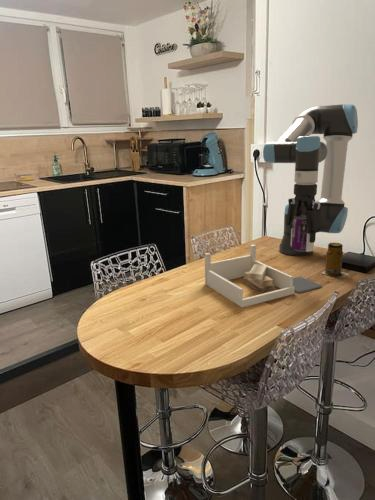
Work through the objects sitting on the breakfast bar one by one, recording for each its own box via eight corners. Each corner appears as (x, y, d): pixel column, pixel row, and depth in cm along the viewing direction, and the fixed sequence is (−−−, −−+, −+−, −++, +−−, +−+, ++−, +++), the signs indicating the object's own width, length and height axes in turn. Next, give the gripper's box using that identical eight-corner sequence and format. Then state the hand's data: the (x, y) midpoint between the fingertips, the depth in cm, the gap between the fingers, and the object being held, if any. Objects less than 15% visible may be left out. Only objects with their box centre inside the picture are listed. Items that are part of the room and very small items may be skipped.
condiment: (330, 269, 156) (332, 240, 153) (349, 274, 150) (352, 245, 146) (319, 273, 152) (322, 244, 148) (339, 279, 145) (342, 248, 142)
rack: (252, 273, 154) (253, 244, 150) (294, 293, 133) (296, 261, 130) (205, 283, 144) (204, 253, 141) (241, 307, 124) (242, 272, 120)
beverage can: (307, 253, 132) (309, 219, 128) (288, 250, 136) (289, 217, 132) (314, 248, 137) (317, 215, 134) (295, 246, 141) (297, 213, 138)
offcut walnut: (253, 281, 147) (253, 275, 147) (274, 291, 137) (274, 285, 136) (242, 283, 145) (242, 278, 144) (263, 294, 135) (263, 288, 134)
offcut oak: (255, 275, 146) (256, 270, 145) (272, 285, 136) (272, 279, 136) (244, 278, 144) (244, 272, 144) (260, 288, 134) (260, 281, 134)
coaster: (300, 277, 147) (300, 276, 147) (321, 287, 138) (322, 285, 138) (277, 283, 143) (277, 281, 143) (298, 293, 133) (298, 291, 133)
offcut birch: (266, 271, 143) (267, 265, 143) (262, 280, 134) (262, 274, 134) (254, 270, 145) (254, 264, 144) (248, 279, 136) (248, 273, 135)
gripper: (277, 181, 137) (275, 243, 143) (319, 187, 120) (314, 257, 126) (293, 180, 140) (290, 240, 146) (336, 185, 123) (331, 253, 129)
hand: (301, 248), depth 136 cm, fingers closed on beverage can, 7 cm apart
